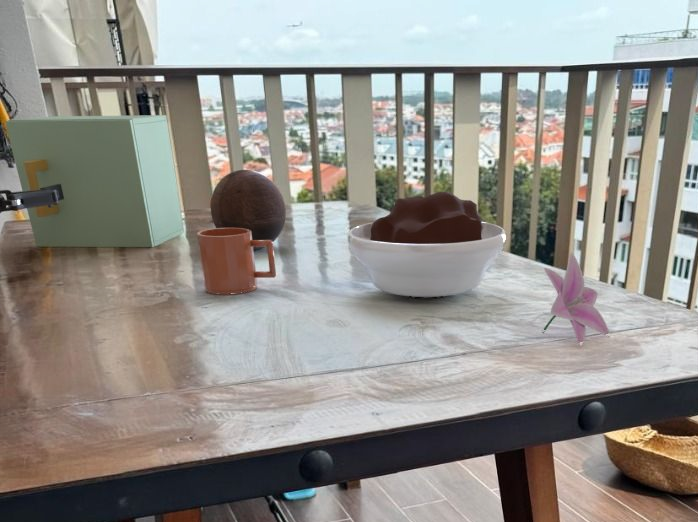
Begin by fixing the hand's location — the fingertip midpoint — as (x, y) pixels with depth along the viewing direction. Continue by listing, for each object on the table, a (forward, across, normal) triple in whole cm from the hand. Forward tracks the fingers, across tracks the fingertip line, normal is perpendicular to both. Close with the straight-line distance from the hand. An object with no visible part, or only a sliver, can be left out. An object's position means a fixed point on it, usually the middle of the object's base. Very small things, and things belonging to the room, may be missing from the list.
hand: (28, 191), depth 148 cm
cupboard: (+19, +7, -12) cm, 23 cm away
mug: (-27, +50, -12) cm, 58 cm away
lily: (-52, +103, -12) cm, 116 cm away
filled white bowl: (-28, +81, -12) cm, 87 cm away
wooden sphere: (+8, +42, -12) cm, 44 cm away
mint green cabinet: (+6, +7, -12) cm, 15 cm away
